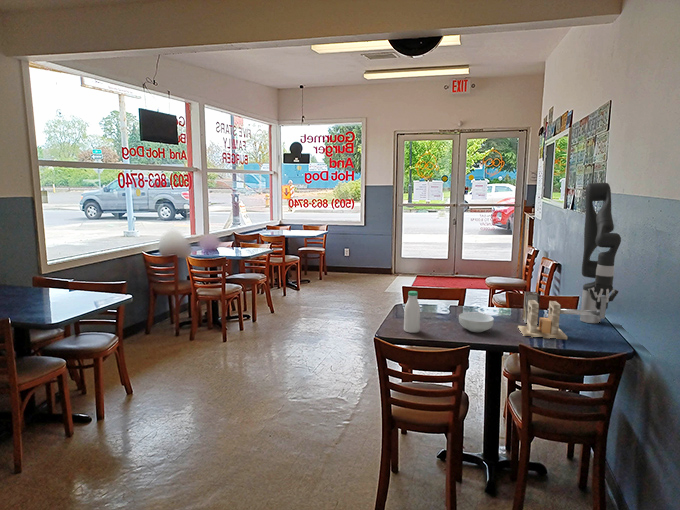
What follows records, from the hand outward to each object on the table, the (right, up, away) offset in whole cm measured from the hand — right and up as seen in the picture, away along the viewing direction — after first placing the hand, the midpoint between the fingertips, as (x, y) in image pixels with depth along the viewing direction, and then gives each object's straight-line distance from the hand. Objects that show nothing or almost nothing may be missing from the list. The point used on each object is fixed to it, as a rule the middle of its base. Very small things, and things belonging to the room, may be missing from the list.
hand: (601, 309), depth 237 cm
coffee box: (-25, -10, +26) cm, 37 cm away
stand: (-26, -13, +6) cm, 30 cm away
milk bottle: (-91, -12, +7) cm, 92 cm away
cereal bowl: (-58, -12, +10) cm, 60 cm away
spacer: (-25, -11, +5) cm, 28 cm away
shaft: (-10, -4, +2) cm, 11 cm away
